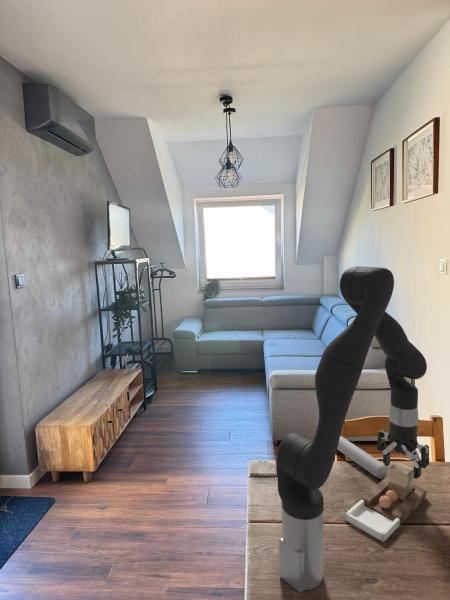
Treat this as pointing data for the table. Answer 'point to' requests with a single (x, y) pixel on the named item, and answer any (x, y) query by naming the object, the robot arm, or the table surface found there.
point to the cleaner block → (401, 480)
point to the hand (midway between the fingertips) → (401, 471)
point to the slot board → (397, 508)
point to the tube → (362, 458)
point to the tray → (371, 521)
